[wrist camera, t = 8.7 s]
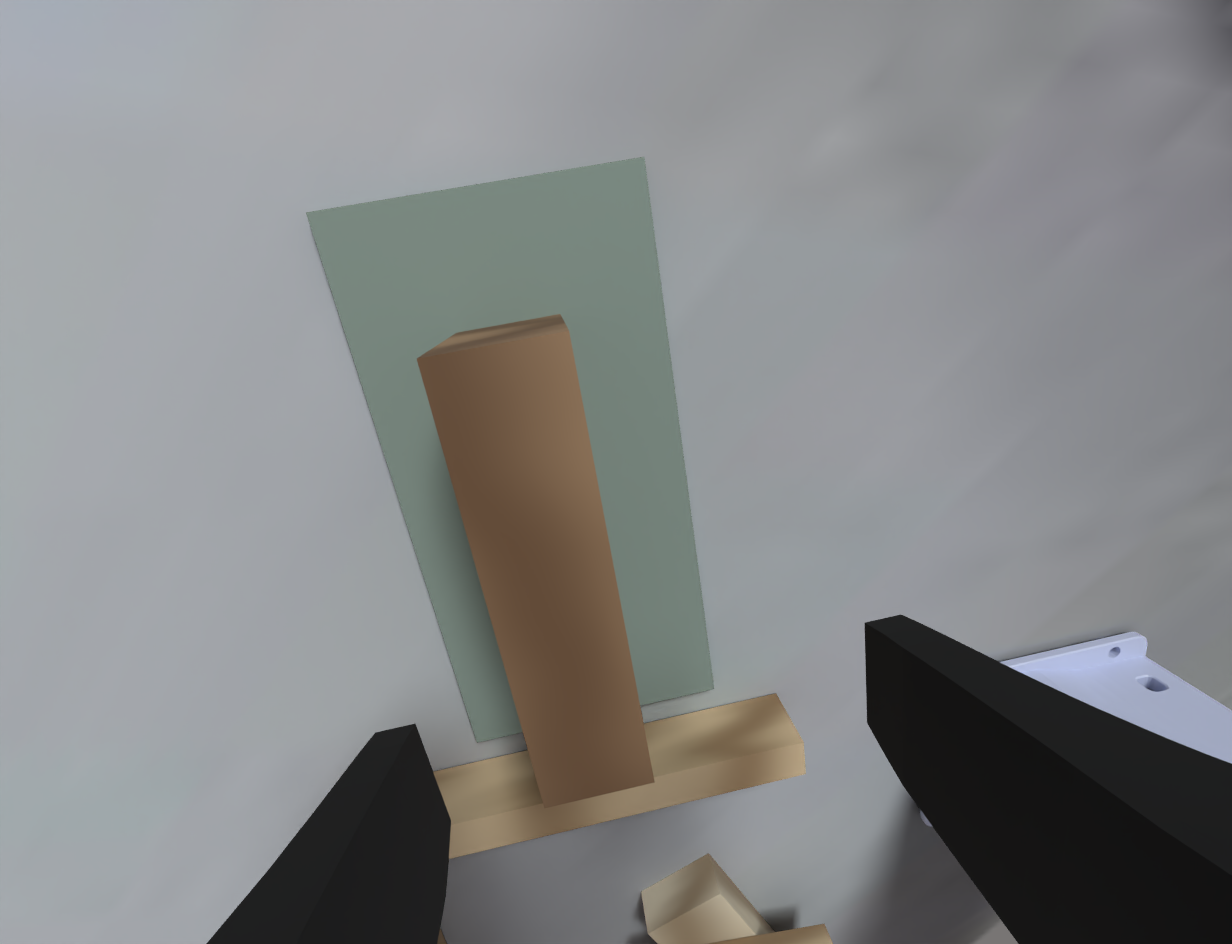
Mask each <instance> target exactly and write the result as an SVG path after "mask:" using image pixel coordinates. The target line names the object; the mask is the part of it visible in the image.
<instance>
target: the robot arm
mask: <svg viewBox="0 0 1232 944" xmlns="http://www.w3.org/2000/svg"><path fill="white" fill-rule="evenodd" d="M1146 649H1147V639H1146V638H1145V637H1144V636H1142V635H1140V634H1139V633H1137V632H1128V633H1124V634H1119V635H1115V636H1111V637H1106V638H1102V639H1098V640H1093V641H1089V642H1085V643H1080V644H1076V645H1072V646H1067V647H1063V648H1059V649H1054V650H1050V651H1046V652H1041V653H1037V654H1033V655H1028V656H1024V657H1020V658H1015V659H1011V660H1007V661H1002V662H998V661H996V660H994V659H992V658H990V657H988V656H986V655H984V654H982V653H980V652H978V651H976V650H974V649H972V648H970V647H968V646H966V645H964V644H962V643H960V642H958V641H956V640H954V639H952V638H950V637H948V636H946V635H943V634H941V633H939V632H937V631H935V630H933V629H931V628H929V627H927V626H925V625H923V624H921V623H919V622H916V621H914V620H912V619H910V618H908V617H905V616H903V615H897V616H893V617H888V618H884V619H880V620H875V621H871V622H866V623H865V653H866V693H867V723H868V725H869V727H870V729H871V730H872V732H873V734H874V736H875V738H876V739H877V741H878V743H879V745H880V747H881V748H882V750H883V752H884V754H885V756H886V757H887V759H888V761H889V762H890V764H891V766H892V767H893V769H894V771H895V773H896V774H897V776H898V778H899V779H900V781H901V783H902V784H903V786H904V787H905V789H906V790H907V792H908V793H909V794H910V796H911V797H912V799H913V800H914V801H915V803H916V804H917V806H918V807H919V808H920V816H921V819H922V820H923V821H924V823H925V824H926V825H927V826H931V827H933V828H934V829H935V830H936V832H937V833H938V835H939V836H940V837H941V839H942V840H943V841H944V843H945V844H946V846H947V847H948V848H949V850H950V851H951V852H952V854H953V855H954V856H955V858H956V859H957V860H958V862H959V863H960V865H961V866H962V867H963V869H964V870H965V871H966V873H967V874H968V875H969V877H970V878H971V880H972V881H973V882H974V884H975V885H976V886H977V888H978V889H979V890H980V892H981V893H982V895H983V896H984V897H985V899H986V900H987V901H988V903H989V904H990V905H991V907H992V908H993V909H994V911H995V912H996V914H997V915H998V916H999V918H1000V919H1001V920H1002V922H1003V923H1004V924H1005V926H1006V927H1007V929H1008V930H1009V931H1010V933H1011V934H1012V935H1013V937H1014V938H1015V939H1016V941H1017V942H1018V943H1019V944H1232V710H1230V709H1229V708H1227V707H1225V706H1224V705H1222V704H1221V703H1219V702H1217V701H1216V700H1214V699H1213V698H1211V697H1209V696H1208V695H1206V694H1205V693H1203V692H1201V691H1200V690H1198V689H1197V688H1195V687H1193V686H1192V685H1190V684H1189V683H1187V682H1186V681H1184V680H1182V679H1181V678H1179V677H1178V676H1176V675H1174V674H1173V673H1171V672H1170V671H1168V670H1166V669H1165V668H1163V667H1162V666H1160V665H1158V664H1157V663H1155V662H1154V661H1152V660H1150V659H1149V658H1147V657H1146V656H1145V655H1146ZM450 832H451V819H450V816H449V813H448V811H447V808H446V805H445V803H444V800H443V797H442V794H441V792H440V789H439V786H438V784H437V781H436V778H435V776H434V773H433V770H432V767H431V765H430V762H429V759H428V757H427V754H426V751H425V749H424V746H423V743H422V740H421V738H420V735H419V732H418V730H417V727H416V724H412V725H407V726H403V727H398V728H394V729H390V730H385V731H381V732H376V733H375V734H374V735H373V736H372V738H371V739H370V740H369V741H368V743H367V744H366V745H365V746H364V748H363V749H362V750H361V751H360V753H359V754H358V755H357V757H356V758H355V759H354V760H353V762H352V763H351V764H350V766H349V767H348V768H347V770H346V771H345V772H344V773H343V775H342V776H341V777H340V779H339V780H338V781H337V783H336V784H335V785H334V787H333V788H332V789H331V790H330V792H329V793H328V794H327V796H326V797H325V798H324V800H323V801H322V802H321V804H320V805H319V806H318V807H317V809H316V810H315V811H314V813H313V814H312V815H311V816H310V818H309V819H308V820H307V822H306V823H305V824H304V825H303V827H302V828H301V829H300V830H299V832H298V833H297V834H296V836H295V837H294V838H293V839H292V841H291V842H290V843H289V844H288V846H287V847H286V848H285V850H284V851H283V852H282V853H281V855H280V856H279V857H278V858H277V860H276V861H275V862H274V864H273V865H272V866H271V867H270V869H269V870H268V871H267V872H266V874H265V875H264V876H263V877H262V878H261V880H260V881H259V882H258V883H257V884H256V885H255V887H254V888H253V889H252V890H251V891H250V893H249V894H248V895H247V896H246V897H245V899H244V900H243V901H242V902H241V903H240V905H239V906H238V907H237V908H236V909H235V910H234V912H233V913H232V914H231V915H230V916H229V918H228V919H227V920H226V921H225V922H224V924H223V925H222V926H221V927H220V928H219V930H218V931H217V932H216V933H215V934H214V935H213V937H212V938H211V939H210V940H209V941H208V943H207V944H437V942H438V936H439V931H440V925H441V920H442V914H443V908H444V902H445V897H446V886H447V874H448V862H449V847H450Z"/></svg>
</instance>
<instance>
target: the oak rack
mask: <svg viewBox="0 0 1232 944" xmlns="http://www.w3.org/2000/svg"><path fill="white" fill-rule="evenodd" d="M644 729H645V734H646V739H647V744H648V750H649V755H650V760H651V765H652V771H653V776H654V781H655V783H651V784H646V785H642V786H638V787H634V788H629V789H625V790H621V791H617V792H612V793H608V794H604V795H600V796H595V797H591V798H587V799H583V800H578V801H574V802H570V803H566V804H561V805H557V806H553V807H549V808H544V805H543V801H542V798H541V794H540V791H539V787H538V784H537V780H536V777H535V773H534V770H533V766H532V763H531V759H530V756H529V752H528V750H526V751H522V752H517V753H513V754H509V755H504V756H500V757H495V758H491V759H487V760H482V761H478V762H474V763H469V764H465V765H460V766H456V767H452V768H447V769H443V770H439V771H434V772H433V773H434V776H435V778H436V781H437V784H438V786H439V789H440V792H441V794H442V797H443V800H444V803H445V805H446V808H447V811H448V813H449V816H450V819H451V832H450V847H449V859H451V858H455V857H460V856H464V855H468V854H472V853H476V852H480V851H485V850H489V849H493V848H497V847H501V846H506V845H510V844H514V843H518V842H522V841H527V840H531V839H535V838H539V837H543V836H548V835H552V834H556V833H560V832H564V831H569V830H573V829H577V828H581V827H585V826H590V825H594V824H598V823H602V822H606V821H610V820H615V819H619V818H623V817H627V816H631V815H636V814H640V813H644V812H648V811H652V810H657V809H661V808H665V807H669V806H673V805H678V804H682V803H686V802H690V801H694V800H699V799H703V798H707V797H711V796H715V795H720V794H724V793H728V792H732V791H736V790H740V789H745V788H749V787H753V786H757V785H761V784H766V783H770V782H774V781H778V780H782V779H787V778H791V777H795V776H799V775H803V774H806V771H805V756H804V742H803V740H802V739H801V737H800V735H799V733H798V731H797V730H796V728H795V726H794V724H793V723H792V721H791V719H790V717H789V716H788V714H787V712H786V710H785V708H784V707H783V705H782V703H781V701H780V700H779V698H778V696H777V694H771V695H767V696H762V697H758V698H754V699H749V700H745V701H741V702H736V703H732V704H727V705H723V706H719V707H714V708H710V709H706V710H701V711H697V712H692V713H688V714H684V715H679V716H675V717H671V718H666V719H662V720H657V721H653V722H649V723H644ZM437 944H447V943H446V941H445V938H444V936H443V934H442V931H441V929H440V931H439V936H438V942H437Z"/></svg>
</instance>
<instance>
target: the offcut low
mask: <svg viewBox="0 0 1232 944" xmlns="http://www.w3.org/2000/svg"><path fill="white" fill-rule="evenodd" d="M641 895H642V901H643V907H644V913H645V919H646V926H647V932H648V934H649V935H650V936H651V937H652V938H653V939H654V940H655V941H656V942H657V943H658V944H709V943H715V942H721V941H727V940H733V939H739V938H744V937H750V936H756V935H762V934H768V933H774V931H773V929H772V928H771V927H770V926H769V925H768V923H767V922H766V921H765V920H764V919H763V917H762V916H761V915H760V914H759V913H758V912H757V910H756V909H755V908H754V907H753V906H752V904H751V903H750V902H749V901H748V900H747V898H746V897H745V896H744V895H743V894H742V892H741V891H740V890H739V889H738V888H737V886H736V885H735V884H734V883H733V882H732V881H731V879H730V878H729V877H728V876H727V875H726V873H725V872H724V871H723V870H722V869H721V867H720V866H719V865H718V864H717V863H716V861H715V860H714V859H713V858H712V857H711V855H710V854H709V853H708V854H707V855H705V856H703V857H701V858H699V859H698V860H696V861H694V862H692V863H691V864H689V865H687V866H685V867H684V868H682V869H680V870H678V871H676V872H675V873H673V874H671V875H669V876H668V877H666V878H664V879H662V880H661V881H659V882H657V883H655V884H653V885H652V886H650V887H648V888H646V889H645V890H643V891H641Z"/></svg>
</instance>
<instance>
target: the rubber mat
mask: <svg viewBox="0 0 1232 944" xmlns="http://www.w3.org/2000/svg"><path fill="white" fill-rule="evenodd" d="M306 214H307V217H308V220H309V224H310V227H311V230H312V233H313V236H314V239H315V242H316V245H317V248H318V251H319V255H320V258H321V261H322V264H323V267H324V270H325V273H326V276H327V279H328V282H329V286H330V289H331V292H332V295H333V298H334V301H335V304H336V307H337V310H338V313H339V317H340V320H341V323H342V326H343V329H344V332H345V335H346V338H347V341H348V344H349V347H350V351H351V354H352V357H353V360H354V363H355V366H356V369H357V372H358V375H359V378H360V382H361V385H362V388H363V391H364V394H365V397H366V400H367V403H368V406H369V409H370V413H371V416H372V419H373V422H374V425H375V428H376V431H377V434H378V437H379V440H380V444H381V447H382V450H383V453H384V456H385V459H386V462H387V465H388V468H389V471H390V475H391V478H392V481H393V484H394V487H395V490H396V493H397V496H398V499H399V502H400V506H401V509H402V512H403V515H404V518H405V521H406V524H407V527H408V530H409V533H410V537H411V540H412V543H413V546H414V549H415V552H416V555H417V558H418V561H419V564H420V568H421V571H422V574H423V577H424V580H425V583H426V586H427V589H428V592H429V595H430V598H431V602H432V605H433V608H434V611H435V614H436V617H437V620H438V623H439V626H440V629H441V633H442V636H443V639H444V642H445V645H446V648H447V651H448V654H449V657H450V660H451V664H452V667H453V670H454V673H455V676H456V679H457V682H458V685H459V688H460V691H461V695H462V698H463V701H464V704H465V707H466V710H467V713H468V716H469V719H470V722H471V726H472V729H473V732H474V735H475V738H476V741H477V743H478V742H482V741H487V740H491V739H495V738H500V737H504V736H509V735H513V734H517V733H522V732H523V731H522V728H521V724H520V721H519V717H518V714H517V710H516V707H515V703H514V700H513V696H512V693H511V689H510V685H509V682H508V678H507V675H506V671H505V668H504V664H503V661H502V657H501V654H500V650H499V647H498V643H497V640H496V636H495V633H494V629H493V626H492V622H491V619H490V615H489V612H488V608H487V605H486V601H485V598H484V594H483V591H482V587H481V584H480V580H479V577H478V573H477V570H476V566H475V563H474V559H473V556H472V552H471V549H470V545H469V541H468V538H467V534H466V531H465V527H464V524H463V520H462V517H461V513H460V510H459V506H458V503H457V499H456V496H455V492H454V489H453V485H452V482H451V478H450V475H449V471H448V468H447V464H446V461H445V457H444V454H443V450H442V447H441V443H440V440H439V436H438V433H437V429H436V426H435V422H434V419H433V415H432V412H431V408H430V405H429V401H428V397H427V394H426V390H425V387H424V383H423V380H422V376H421V373H420V369H419V366H418V362H417V358H418V357H420V356H421V355H423V354H424V353H426V352H428V351H429V350H431V349H432V348H434V347H435V346H437V345H438V344H440V343H441V342H443V341H444V340H446V339H448V338H449V337H451V336H452V335H454V334H455V333H458V332H463V331H469V330H474V329H480V328H485V327H491V326H496V325H502V324H507V323H513V322H518V321H524V320H530V319H535V318H541V317H546V316H552V315H557V314H561V316H562V318H563V320H564V322H565V324H566V326H567V328H568V330H569V333H570V338H571V344H572V349H573V354H574V359H575V365H576V370H577V375H578V380H579V386H580V391H581V396H582V402H583V407H584V412H585V417H586V423H587V428H588V433H589V438H590V444H591V449H592V454H593V460H594V465H595V470H596V475H597V481H598V486H599V491H600V496H601V502H602V507H603V512H604V518H605V523H606V528H607V533H608V539H609V544H610V549H611V554H612V560H613V565H614V570H615V576H616V581H617V586H618V591H619V597H620V602H621V607H622V613H623V618H624V623H625V628H626V634H627V639H628V644H629V649H630V655H631V660H632V665H633V671H634V676H635V681H636V686H637V692H638V697H639V702H640V706H641V705H646V704H650V703H654V702H659V701H663V700H668V699H672V698H676V697H681V696H685V695H690V694H694V693H699V692H703V691H707V690H712V689H714V684H713V676H712V669H711V661H710V653H709V646H708V638H707V630H706V623H705V615H704V608H703V600H702V592H701V585H700V577H699V570H698V562H697V554H696V547H695V539H694V532H693V524H692V516H691V509H690V501H689V493H688V486H687V478H686V471H685V463H684V455H683V448H682V440H681V433H680V425H679V417H678V410H677V402H676V394H675V387H674V379H673V372H672V364H671V356H670V349H669V341H668V334H667V326H666V318H665V311H664V303H663V296H662V288H661V280H660V273H659V265H658V257H657V250H656V242H655V235H654V227H653V219H652V212H651V204H650V197H649V189H648V181H647V174H646V166H645V159H644V157H640V158H634V159H628V160H622V161H616V162H610V163H604V164H598V165H592V166H586V167H580V168H573V169H567V170H561V171H555V172H549V173H543V174H537V175H531V176H525V177H519V178H513V179H507V180H501V181H495V182H489V183H483V184H476V185H470V186H464V187H458V188H452V189H446V190H440V191H434V192H428V193H422V194H416V195H410V196H404V197H398V198H392V199H385V200H379V201H373V202H367V203H361V204H355V205H349V206H343V207H337V208H331V209H325V210H319V211H313V212H307V213H306Z"/></svg>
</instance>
